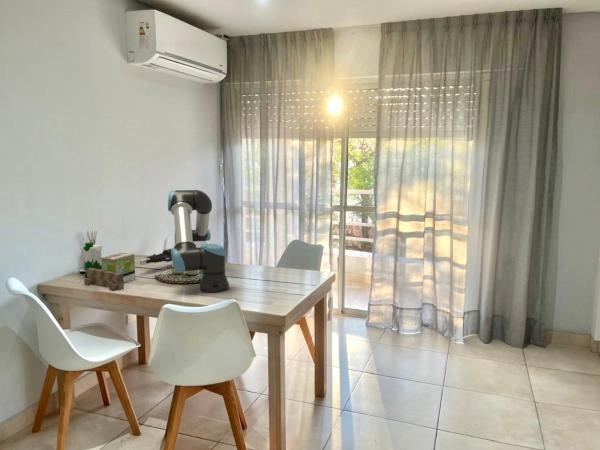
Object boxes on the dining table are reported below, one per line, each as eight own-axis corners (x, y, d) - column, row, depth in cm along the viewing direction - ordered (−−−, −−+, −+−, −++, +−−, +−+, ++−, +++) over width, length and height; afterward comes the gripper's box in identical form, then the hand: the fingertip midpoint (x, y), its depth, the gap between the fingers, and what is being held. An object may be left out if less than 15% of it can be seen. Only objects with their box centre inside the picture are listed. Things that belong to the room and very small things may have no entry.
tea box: (117, 286, 252) (115, 259, 249) (102, 284, 255) (100, 257, 253) (136, 279, 266) (134, 253, 263) (121, 277, 269) (120, 251, 267)
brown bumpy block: (123, 288, 247) (122, 273, 246) (115, 291, 242) (114, 276, 241) (91, 281, 260) (90, 267, 258) (82, 284, 255) (81, 269, 254)
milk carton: (82, 277, 268) (79, 243, 265) (94, 274, 276) (92, 240, 273) (94, 279, 265) (91, 244, 261) (106, 275, 273) (103, 241, 270)
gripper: (178, 261, 290) (149, 270, 270) (163, 259, 296) (133, 267, 276) (178, 250, 289) (148, 257, 269) (162, 247, 295) (132, 255, 275)
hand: (140, 262), depth 272 cm, fingers closed
